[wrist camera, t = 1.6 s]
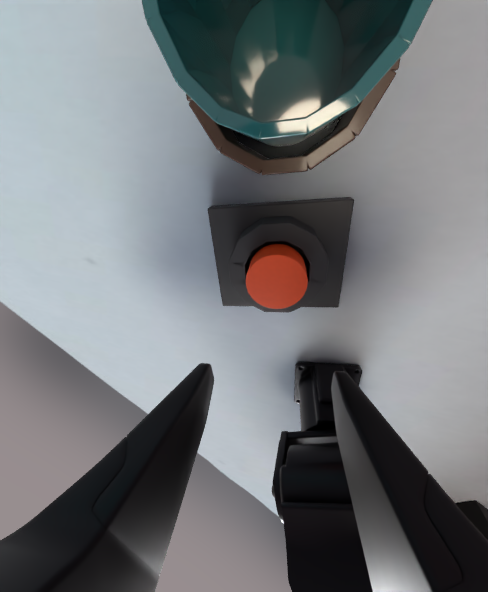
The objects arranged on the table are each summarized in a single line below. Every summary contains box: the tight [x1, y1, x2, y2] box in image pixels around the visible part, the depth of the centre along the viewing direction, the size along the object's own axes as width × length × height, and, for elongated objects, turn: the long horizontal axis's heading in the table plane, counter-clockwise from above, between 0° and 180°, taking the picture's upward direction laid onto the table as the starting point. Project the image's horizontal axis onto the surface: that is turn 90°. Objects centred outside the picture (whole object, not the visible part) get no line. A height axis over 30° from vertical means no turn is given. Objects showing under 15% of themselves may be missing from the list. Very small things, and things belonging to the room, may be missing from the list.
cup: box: [142, 0, 433, 147], centre depth 9 cm, size 7×7×10 cm
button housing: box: [208, 197, 354, 312], centre depth 18 cm, size 10×8×3 cm
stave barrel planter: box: [186, 58, 400, 175], centre depth 12 cm, size 9×9×4 cm
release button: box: [246, 244, 308, 309], centre depth 16 cm, size 4×4×2 cm
